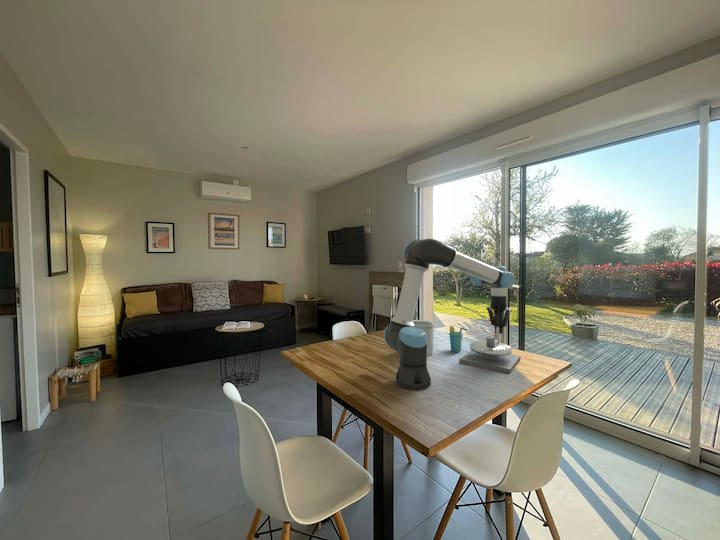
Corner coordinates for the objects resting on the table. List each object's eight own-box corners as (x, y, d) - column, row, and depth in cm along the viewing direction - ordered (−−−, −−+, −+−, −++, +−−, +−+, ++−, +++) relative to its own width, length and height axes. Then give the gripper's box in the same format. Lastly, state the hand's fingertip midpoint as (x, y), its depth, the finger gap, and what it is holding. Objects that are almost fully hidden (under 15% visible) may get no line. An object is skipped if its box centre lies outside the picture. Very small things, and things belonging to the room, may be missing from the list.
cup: (471, 353, 172) (471, 327, 171) (461, 355, 168) (461, 329, 167) (452, 347, 184) (452, 323, 183) (443, 349, 180) (443, 324, 179)
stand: (459, 362, 157) (459, 352, 156) (474, 351, 175) (474, 341, 175) (510, 373, 142) (510, 361, 142) (520, 359, 161) (520, 349, 160)
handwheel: (503, 358, 144) (503, 342, 144) (463, 350, 158) (463, 335, 158) (517, 349, 158) (517, 334, 158) (479, 342, 173) (479, 328, 172)
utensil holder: (418, 347, 185) (417, 318, 184) (439, 352, 174) (439, 322, 173) (402, 352, 175) (402, 322, 174) (423, 358, 164) (423, 326, 163)
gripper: (514, 295, 158) (514, 340, 159) (490, 293, 169) (491, 335, 169) (506, 296, 154) (507, 342, 154) (483, 294, 164) (483, 338, 165)
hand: (498, 339), depth 162 cm, fingers closed
